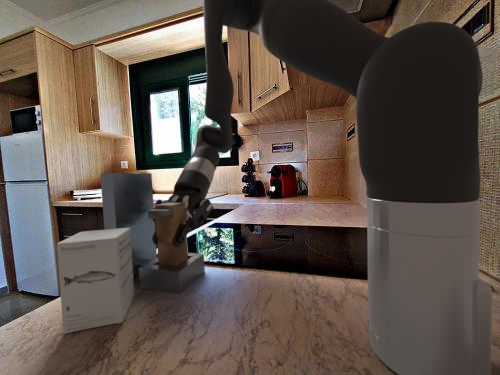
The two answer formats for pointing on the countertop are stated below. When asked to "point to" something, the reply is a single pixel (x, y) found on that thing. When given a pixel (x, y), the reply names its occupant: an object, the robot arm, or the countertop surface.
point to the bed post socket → (144, 232)
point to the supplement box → (95, 278)
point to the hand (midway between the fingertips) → (166, 244)
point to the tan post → (169, 233)
